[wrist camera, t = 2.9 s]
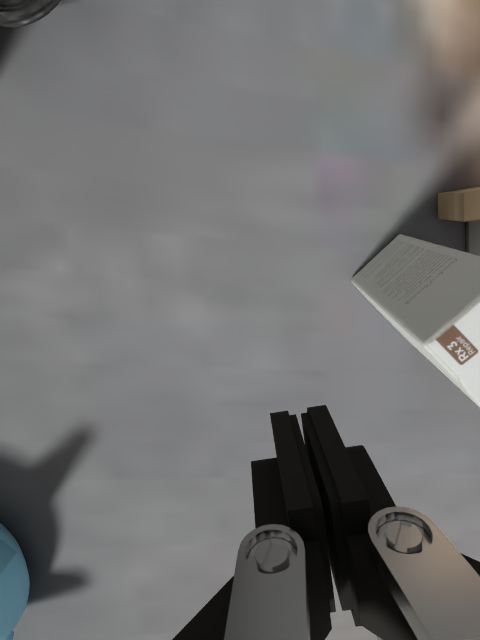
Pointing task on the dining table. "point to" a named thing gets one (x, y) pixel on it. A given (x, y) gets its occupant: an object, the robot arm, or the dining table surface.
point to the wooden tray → (463, 213)
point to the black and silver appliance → (24, 11)
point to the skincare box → (430, 303)
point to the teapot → (11, 583)
